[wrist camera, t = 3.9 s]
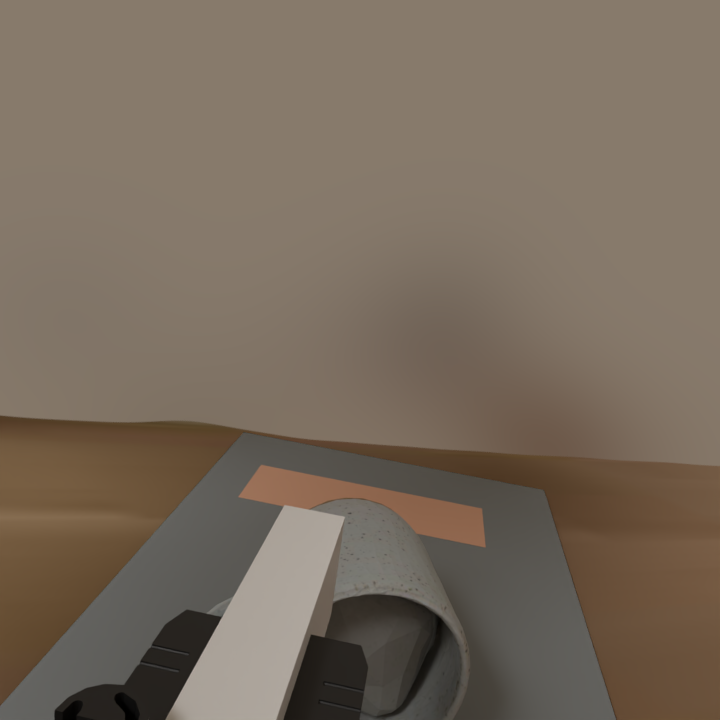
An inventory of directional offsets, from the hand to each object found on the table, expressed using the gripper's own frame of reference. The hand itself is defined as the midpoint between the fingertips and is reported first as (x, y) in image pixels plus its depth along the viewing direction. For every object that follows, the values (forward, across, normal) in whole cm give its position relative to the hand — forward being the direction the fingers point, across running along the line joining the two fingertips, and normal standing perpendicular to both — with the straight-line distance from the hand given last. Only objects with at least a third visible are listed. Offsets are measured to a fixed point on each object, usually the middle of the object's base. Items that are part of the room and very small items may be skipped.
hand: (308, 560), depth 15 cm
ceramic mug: (+8, 0, -12) cm, 14 cm away
